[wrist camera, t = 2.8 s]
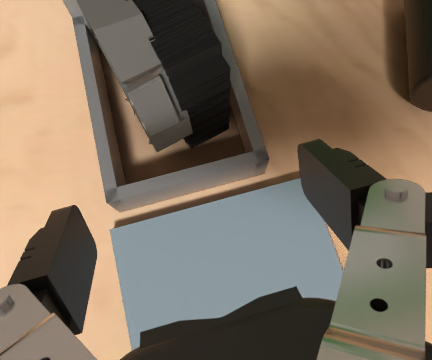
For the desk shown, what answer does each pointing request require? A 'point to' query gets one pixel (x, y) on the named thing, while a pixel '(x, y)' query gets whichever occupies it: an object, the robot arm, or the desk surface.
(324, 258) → the rubber mat
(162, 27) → the cpu cooler
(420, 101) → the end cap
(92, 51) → the open rectangular frame
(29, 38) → the desk surface
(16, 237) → the desk surface
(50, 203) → the desk surface
